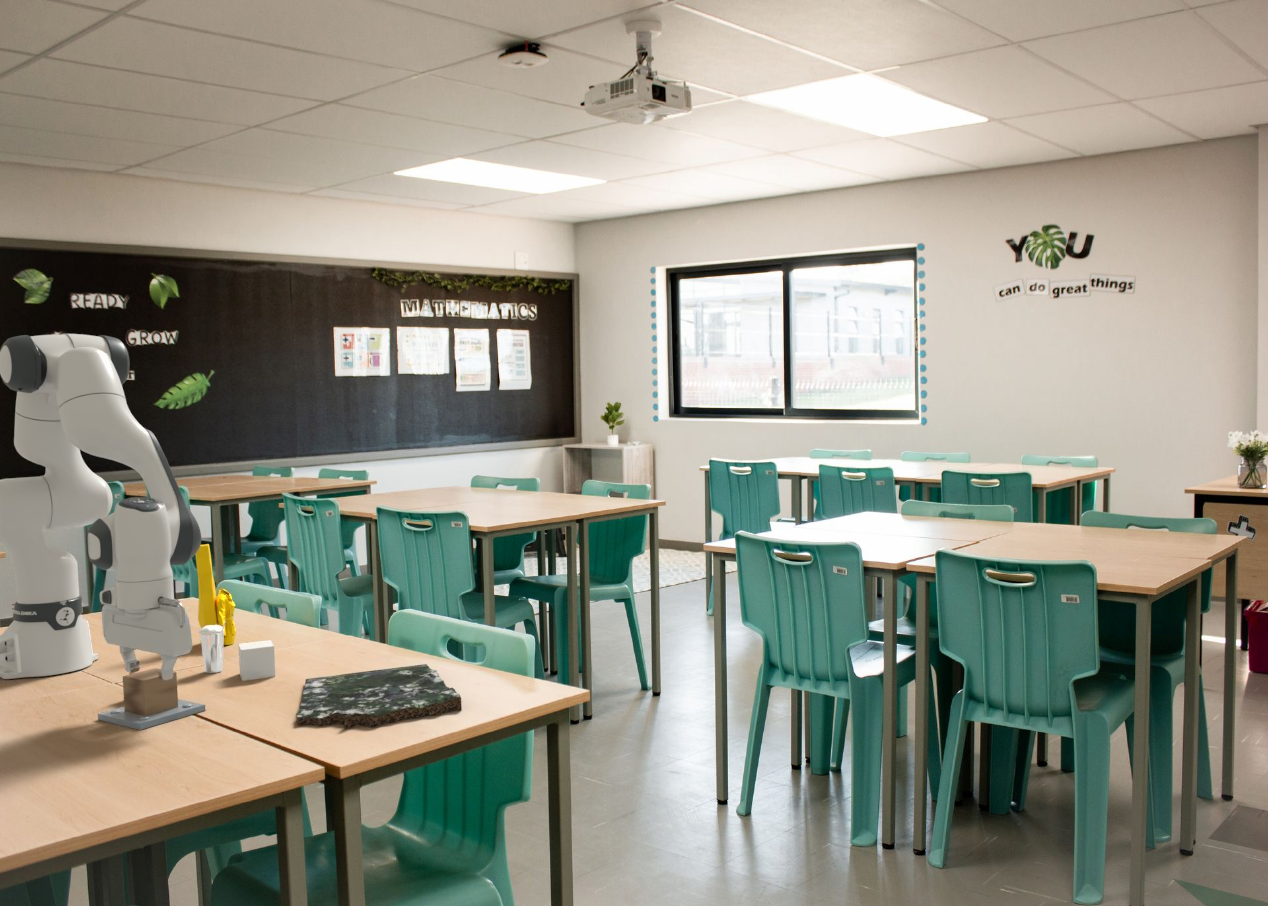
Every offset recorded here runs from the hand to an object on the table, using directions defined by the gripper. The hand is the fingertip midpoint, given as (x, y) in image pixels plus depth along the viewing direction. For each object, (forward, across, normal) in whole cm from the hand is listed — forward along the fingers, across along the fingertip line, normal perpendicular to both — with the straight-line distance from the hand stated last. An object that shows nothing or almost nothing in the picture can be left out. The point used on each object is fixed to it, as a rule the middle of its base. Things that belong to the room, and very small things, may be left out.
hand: (149, 675), depth 181 cm
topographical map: (+7, -28, -24) cm, 37 cm away
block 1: (+7, +10, -7) cm, 14 cm away
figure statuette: (+8, +36, -40) cm, 55 cm away
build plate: (+7, -1, 0) cm, 7 cm away
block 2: (+6, 0, 0) cm, 6 cm away
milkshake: (+7, +15, -24) cm, 29 cm away
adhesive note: (+7, +5, -26) cm, 27 cm away
